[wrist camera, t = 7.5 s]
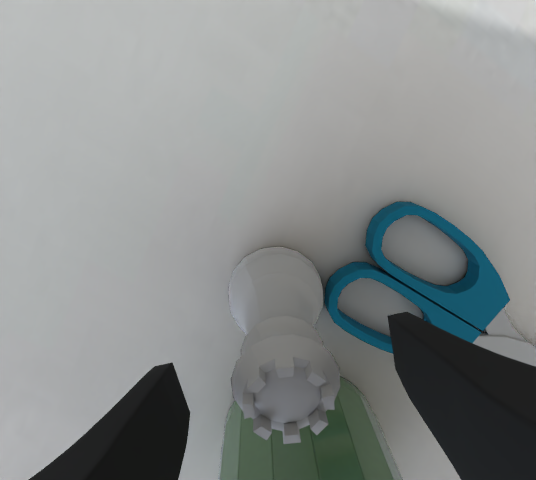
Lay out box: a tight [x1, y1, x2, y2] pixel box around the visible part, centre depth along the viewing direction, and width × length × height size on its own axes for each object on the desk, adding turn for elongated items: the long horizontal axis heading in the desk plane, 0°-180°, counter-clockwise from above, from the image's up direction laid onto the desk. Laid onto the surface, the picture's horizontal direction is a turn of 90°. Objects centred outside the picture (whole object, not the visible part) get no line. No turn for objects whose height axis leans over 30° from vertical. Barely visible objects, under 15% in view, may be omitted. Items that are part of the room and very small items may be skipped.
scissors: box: [324, 202, 536, 366], centre depth 18 cm, size 7×1×20 cm
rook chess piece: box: [228, 246, 340, 444], centre depth 13 cm, size 4×4×8 cm
